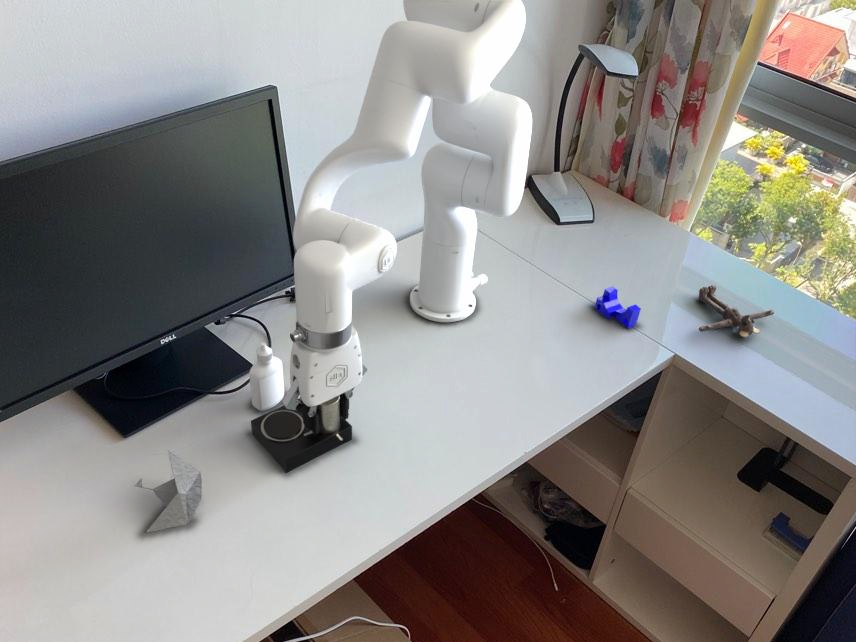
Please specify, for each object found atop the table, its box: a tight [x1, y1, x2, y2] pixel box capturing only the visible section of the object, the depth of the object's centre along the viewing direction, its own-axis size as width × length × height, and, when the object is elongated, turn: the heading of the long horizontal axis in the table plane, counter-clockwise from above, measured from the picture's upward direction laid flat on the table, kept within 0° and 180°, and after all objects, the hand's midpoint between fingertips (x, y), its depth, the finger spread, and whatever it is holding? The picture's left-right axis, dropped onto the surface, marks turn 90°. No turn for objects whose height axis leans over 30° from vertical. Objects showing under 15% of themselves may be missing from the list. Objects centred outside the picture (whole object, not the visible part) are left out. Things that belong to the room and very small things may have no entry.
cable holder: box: [594, 286, 642, 329], centre depth 154 cm, size 8×4×4 cm, turn 32°
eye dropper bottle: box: [248, 342, 285, 412], centre depth 127 cm, size 4×6×12 cm
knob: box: [316, 395, 340, 434], centre depth 122 cm, size 4×4×6 cm
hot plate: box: [250, 397, 353, 474], centre depth 125 cm, size 13×12×3 cm
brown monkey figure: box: [698, 285, 775, 338], centre depth 156 cm, size 18×4×14 cm
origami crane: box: [134, 448, 203, 534], centre depth 113 cm, size 12×6×9 cm
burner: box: [261, 411, 305, 442], centre depth 123 cm, size 7×7×1 cm
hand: (326, 420), depth 124 cm, fingers open, 4 cm apart
